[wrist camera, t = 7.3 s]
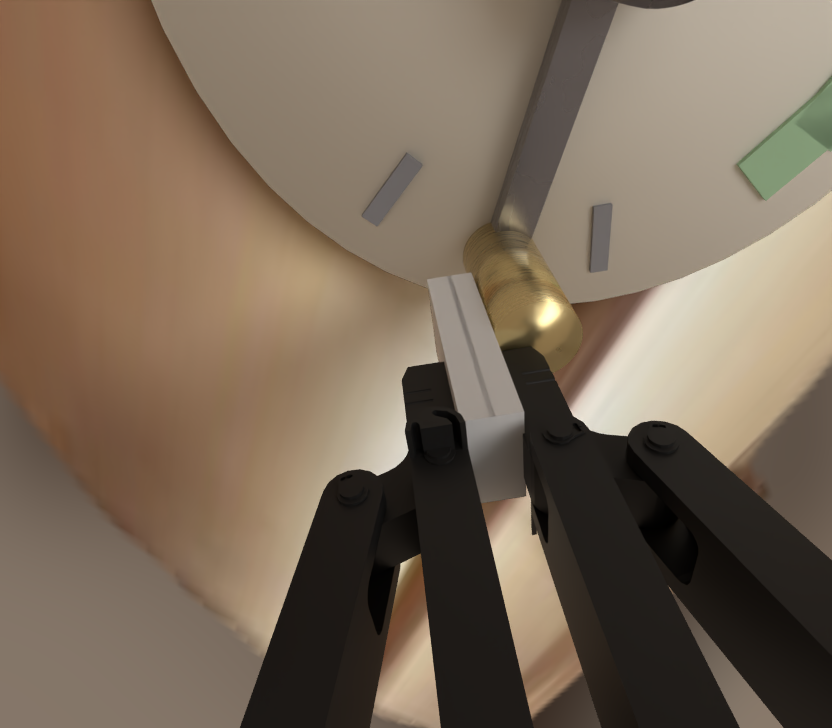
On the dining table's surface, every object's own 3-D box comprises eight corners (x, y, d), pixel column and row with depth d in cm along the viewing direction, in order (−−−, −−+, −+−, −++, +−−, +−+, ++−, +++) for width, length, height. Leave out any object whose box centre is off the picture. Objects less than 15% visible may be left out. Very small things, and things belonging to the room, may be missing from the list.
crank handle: (570, -323, 12) (690, -471, 7) (779, -239, 13) (988, -327, 8) (417, 273, 19) (434, 365, 15) (554, 297, 20) (604, 389, 16)
